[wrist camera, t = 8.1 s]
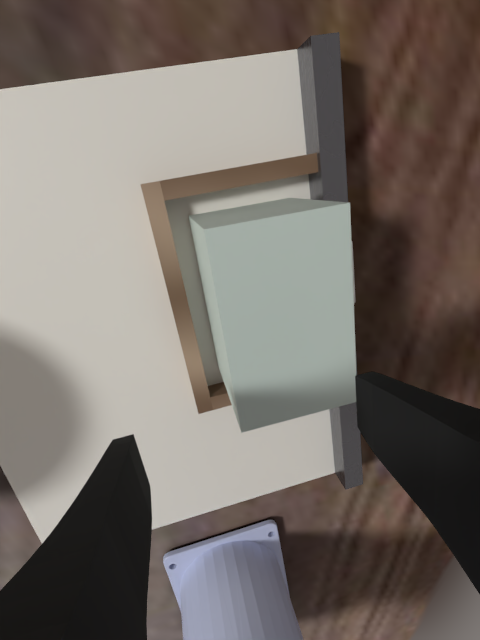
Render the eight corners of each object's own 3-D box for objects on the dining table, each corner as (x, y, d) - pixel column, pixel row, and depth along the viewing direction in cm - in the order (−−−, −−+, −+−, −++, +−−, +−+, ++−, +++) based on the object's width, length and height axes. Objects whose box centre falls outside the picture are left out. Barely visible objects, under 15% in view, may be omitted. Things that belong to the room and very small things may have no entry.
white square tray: (349, 458, 26) (367, 482, 23) (54, 548, 23) (44, 585, 21) (321, 51, 17) (346, 31, 15) (-170, 118, 14) (-228, 106, 12)
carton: (217, 364, 20) (241, 432, 14) (188, 215, 17) (203, 229, 12) (308, 343, 21) (363, 399, 15) (295, 196, 18) (358, 200, 12)
